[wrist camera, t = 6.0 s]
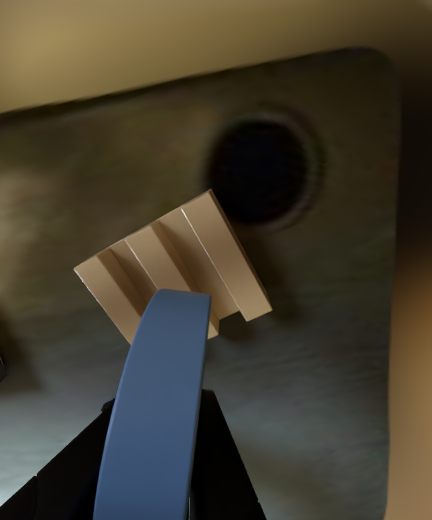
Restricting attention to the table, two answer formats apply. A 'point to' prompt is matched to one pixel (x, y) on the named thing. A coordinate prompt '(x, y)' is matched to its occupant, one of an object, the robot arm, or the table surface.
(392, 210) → the table surface
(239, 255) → the rack
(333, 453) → the table surface
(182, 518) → the blue disc
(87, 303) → the table surface
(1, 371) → the disk drive
